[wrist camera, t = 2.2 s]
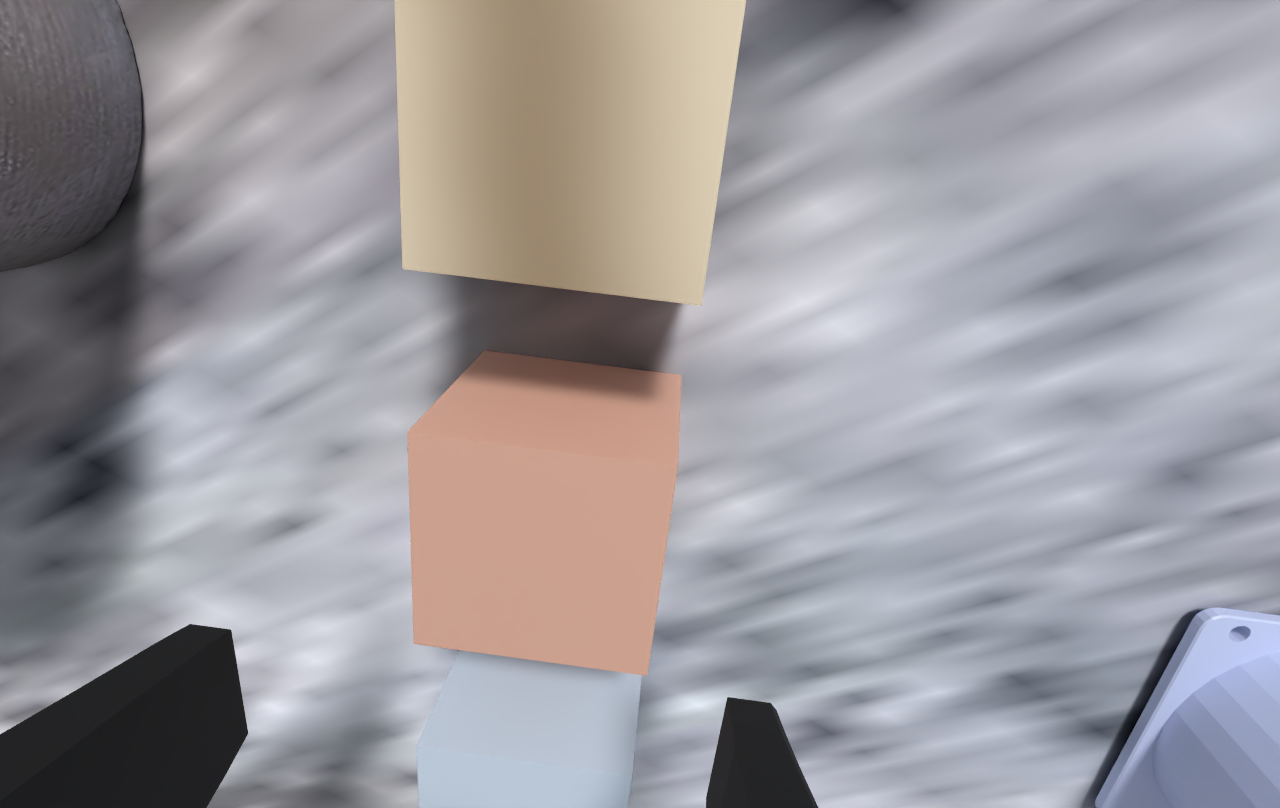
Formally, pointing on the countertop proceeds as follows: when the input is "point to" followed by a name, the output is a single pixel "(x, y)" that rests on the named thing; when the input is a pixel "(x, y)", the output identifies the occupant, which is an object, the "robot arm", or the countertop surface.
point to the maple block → (565, 140)
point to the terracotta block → (544, 510)
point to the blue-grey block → (529, 736)
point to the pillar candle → (63, 125)
